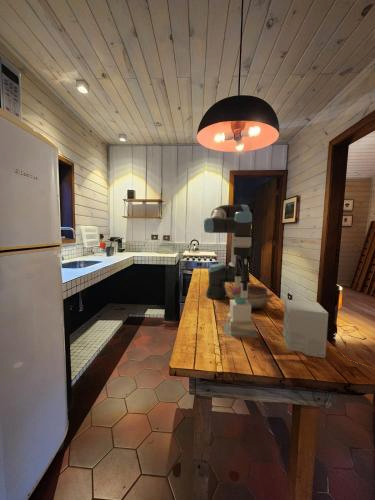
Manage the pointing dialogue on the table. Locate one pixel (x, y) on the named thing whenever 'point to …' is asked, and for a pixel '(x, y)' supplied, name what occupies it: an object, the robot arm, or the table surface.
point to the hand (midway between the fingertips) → (240, 293)
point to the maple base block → (240, 326)
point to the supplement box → (305, 327)
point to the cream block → (240, 311)
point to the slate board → (237, 335)
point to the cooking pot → (258, 296)
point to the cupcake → (238, 294)
